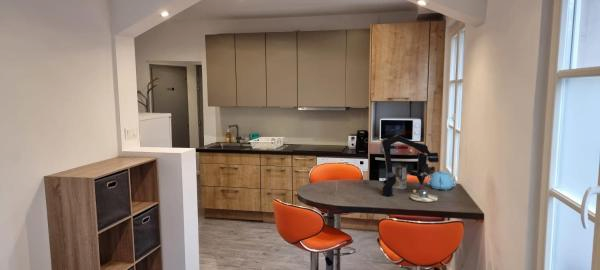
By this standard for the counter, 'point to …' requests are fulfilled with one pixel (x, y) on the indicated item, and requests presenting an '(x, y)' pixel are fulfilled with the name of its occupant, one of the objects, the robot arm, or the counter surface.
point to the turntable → (430, 198)
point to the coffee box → (400, 177)
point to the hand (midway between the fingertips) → (421, 184)
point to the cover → (423, 193)
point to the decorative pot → (441, 180)
